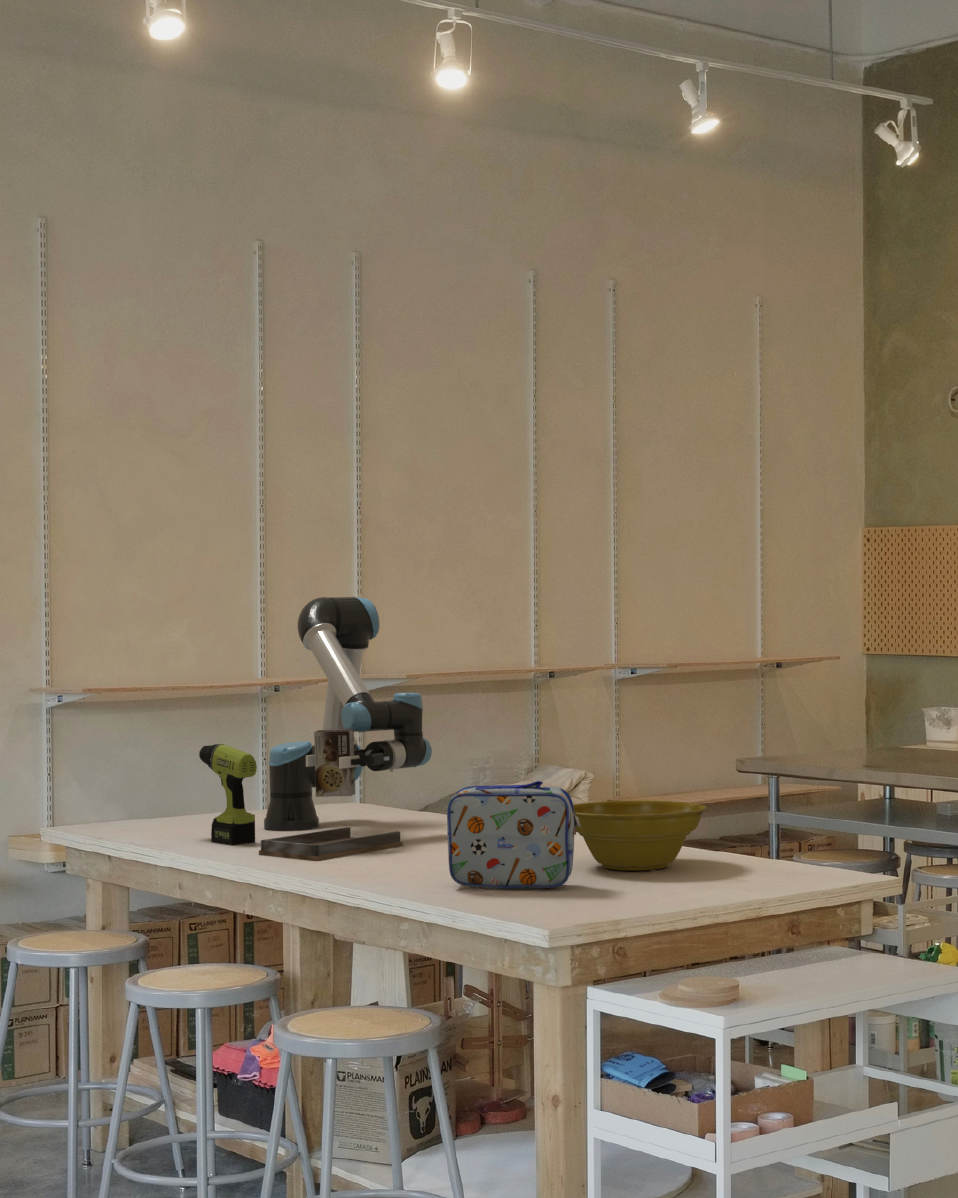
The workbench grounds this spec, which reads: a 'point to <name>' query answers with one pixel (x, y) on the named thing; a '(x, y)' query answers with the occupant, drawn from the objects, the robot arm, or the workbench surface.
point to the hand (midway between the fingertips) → (323, 762)
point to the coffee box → (333, 763)
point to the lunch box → (511, 836)
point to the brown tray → (327, 844)
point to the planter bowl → (636, 831)
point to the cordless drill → (231, 793)
